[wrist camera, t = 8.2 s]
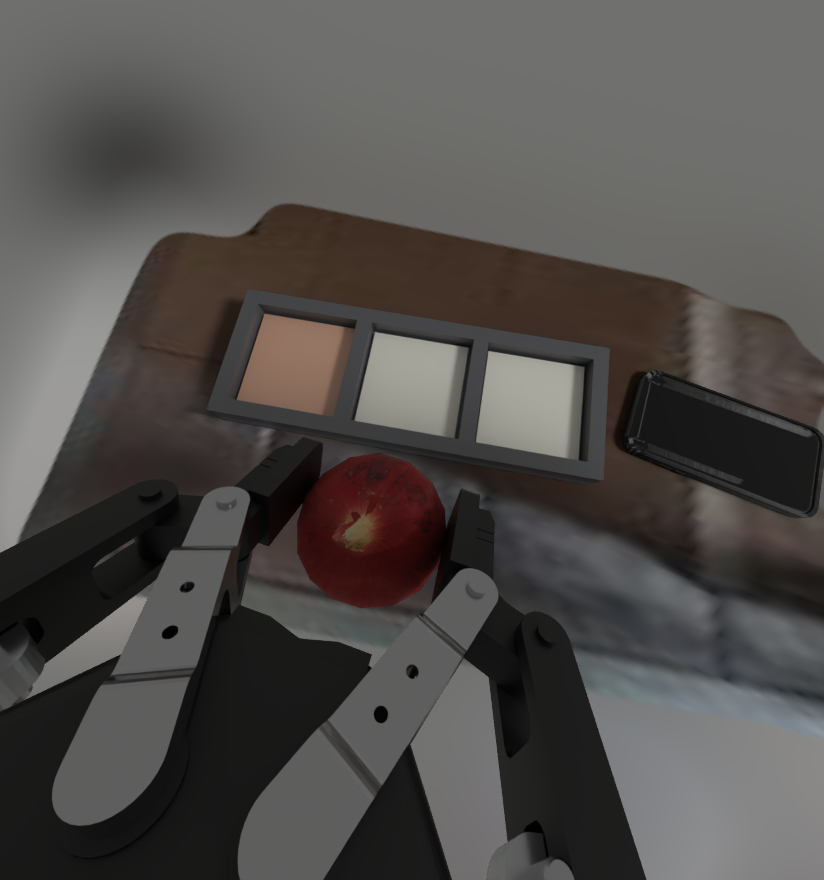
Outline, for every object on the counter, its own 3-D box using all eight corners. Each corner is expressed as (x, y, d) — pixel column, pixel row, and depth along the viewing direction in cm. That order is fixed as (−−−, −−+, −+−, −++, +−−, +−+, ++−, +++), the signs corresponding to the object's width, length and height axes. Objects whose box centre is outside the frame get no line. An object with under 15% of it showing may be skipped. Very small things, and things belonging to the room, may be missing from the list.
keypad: (593, 363, 30) (609, 348, 28) (585, 484, 28) (603, 480, 25) (260, 307, 32) (247, 289, 29) (223, 419, 29) (206, 409, 26)
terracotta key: (356, 331, 30) (355, 328, 29) (334, 418, 28) (333, 417, 27) (266, 316, 30) (264, 313, 30) (238, 401, 28) (236, 400, 28)
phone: (648, 366, 30) (828, 432, 28) (639, 372, 31) (813, 436, 29) (624, 448, 28) (816, 524, 26) (616, 451, 29) (800, 524, 28)
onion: (346, 456, 18) (299, 404, 11) (452, 488, 18) (482, 457, 10) (307, 568, 17) (219, 602, 9) (420, 605, 16) (427, 673, 9)
